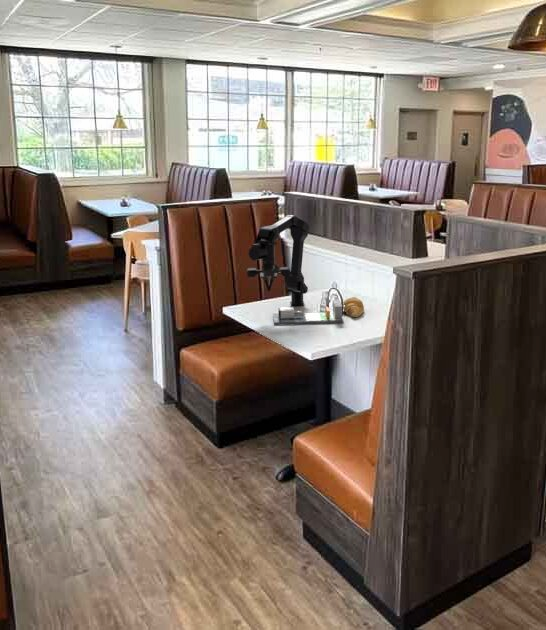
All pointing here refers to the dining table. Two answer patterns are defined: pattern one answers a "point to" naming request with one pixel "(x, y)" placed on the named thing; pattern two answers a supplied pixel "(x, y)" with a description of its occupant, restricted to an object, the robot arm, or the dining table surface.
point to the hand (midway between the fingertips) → (268, 290)
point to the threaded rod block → (287, 312)
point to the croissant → (354, 307)
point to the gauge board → (313, 317)
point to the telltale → (327, 312)
